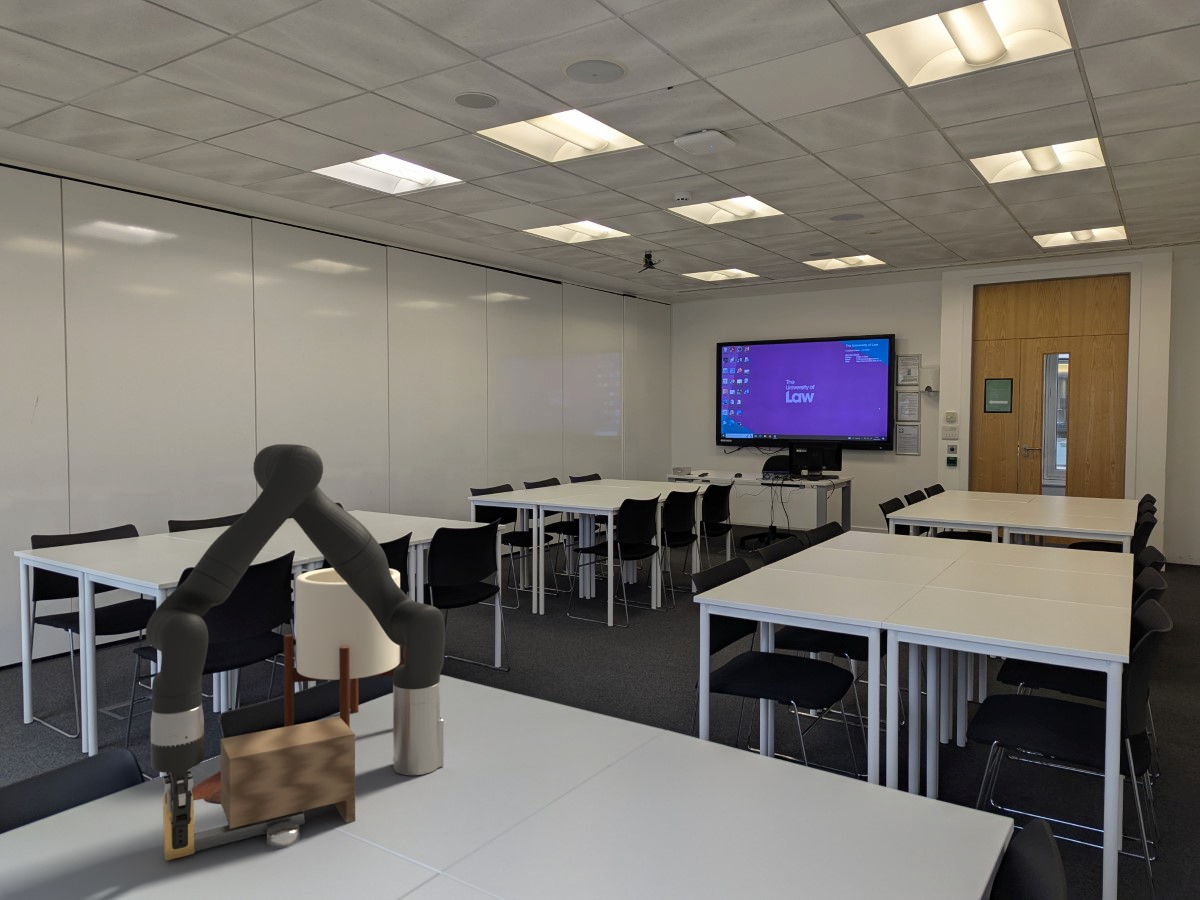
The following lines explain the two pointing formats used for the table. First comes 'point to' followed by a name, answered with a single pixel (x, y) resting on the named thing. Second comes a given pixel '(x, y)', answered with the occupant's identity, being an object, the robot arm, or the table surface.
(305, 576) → the plant pot with stand
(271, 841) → the steel token
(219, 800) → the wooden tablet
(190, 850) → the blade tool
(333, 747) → the walnut cabinet
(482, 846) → the table surface
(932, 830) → the table surface
